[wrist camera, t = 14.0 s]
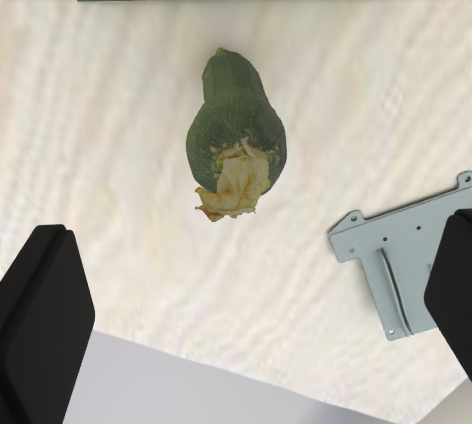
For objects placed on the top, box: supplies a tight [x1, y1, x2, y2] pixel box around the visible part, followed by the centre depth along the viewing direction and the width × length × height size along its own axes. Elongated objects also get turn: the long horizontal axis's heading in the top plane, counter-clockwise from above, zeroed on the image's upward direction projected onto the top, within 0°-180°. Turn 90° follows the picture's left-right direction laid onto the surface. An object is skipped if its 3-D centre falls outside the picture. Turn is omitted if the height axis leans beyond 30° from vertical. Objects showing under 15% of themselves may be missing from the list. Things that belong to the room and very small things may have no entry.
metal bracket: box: [329, 172, 472, 341], centre depth 38 cm, size 14×6×15 cm
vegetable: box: [186, 47, 287, 222], centre depth 21 cm, size 4×4×20 cm
